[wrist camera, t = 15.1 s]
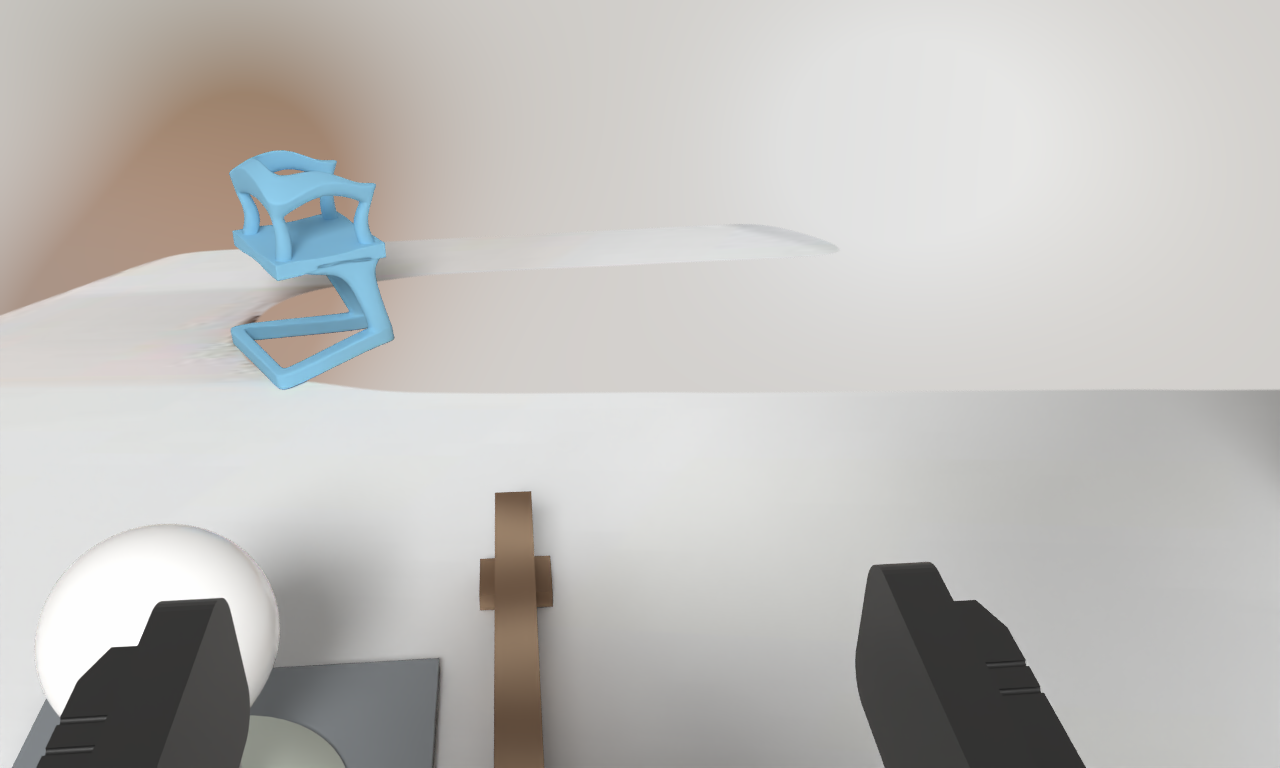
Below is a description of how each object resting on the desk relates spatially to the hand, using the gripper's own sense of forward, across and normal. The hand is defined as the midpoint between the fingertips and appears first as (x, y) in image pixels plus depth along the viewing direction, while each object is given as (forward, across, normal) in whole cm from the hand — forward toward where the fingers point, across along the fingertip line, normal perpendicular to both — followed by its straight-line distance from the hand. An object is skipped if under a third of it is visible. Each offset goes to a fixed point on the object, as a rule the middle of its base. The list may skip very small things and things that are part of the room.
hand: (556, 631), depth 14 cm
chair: (+49, +13, +22) cm, 55 cm away
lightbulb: (+14, +11, +20) cm, 27 cm away
